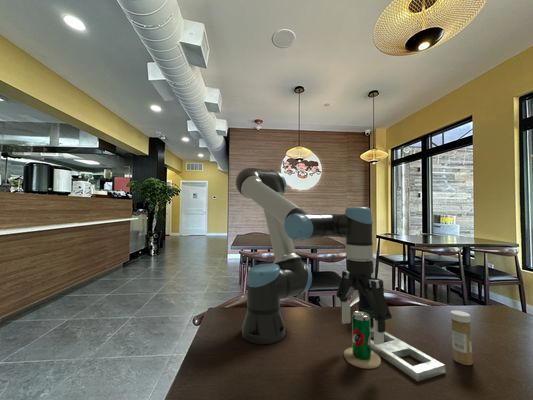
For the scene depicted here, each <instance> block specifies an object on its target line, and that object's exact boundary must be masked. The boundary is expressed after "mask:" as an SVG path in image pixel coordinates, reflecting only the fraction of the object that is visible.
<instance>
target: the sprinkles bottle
mask: <svg viewBox="0 0 533 400" xmlns="http://www.w3.org/2000/svg"><path fill="white" fill-rule="evenodd" d="M450 318H451V319H450V320H451V335H452V336H451V343H452V351H453V352H452V358H453V360H454V361H455V362H456V363H458V364H461V365H466V366H472V365H473V364H474V361H473V349H472V348H473V346H472V345H473V343H472V335H471V333H472V332H471V322H472V321H471V315H470V314H469V313H468V312H466V311H463V310H456V309H455V310H451V311H450Z"/></svg>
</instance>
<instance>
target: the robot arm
mask: <svg viewBox="0 0 533 400" xmlns="http://www.w3.org/2000/svg"><path fill="white" fill-rule="evenodd" d="M286 181H287V180H286V178H285V177H284V174H282V173H281V172H279V171H276V170H275V169H274V170H273V169H264V168H256V167H247V168H244V169H242V170H241V171H240V172H239V173H238V174H237V176H236V179H235V187H236V190H237V192H238V193H239V194H240V195H241V196H243V197H244V198H246V199H248V200H249V199H250V200H252V201H253V202H254V203H256V204H257V205H259V207H260V208H261V209H263V213H264V216H265V222H266V226H267V230H268V233H269V238H270V242H271V247H272V250H273V254H274V260H273V262H272V263H271V262H270V263H268V262H267V263H260V264H256V265H253V266H252V267H250V269H249V270H248V271H247V275H246V292H247V293H246V297H247V298H246V314H245V316H244V320H243V323H242V326H241V337H242V338H243V339H244V340H245V341H247V342H249V343H252V344H256V345H270V344H275V343H277V342H279V341H281V340H283V339H284V338H285V335H286V326H285V323H284V320H283V317H282V314H281V306H280V305H281V300H284V299H288V298H291V297H295V296H300V295H302V294H304V293H306V292H307V291H309V289H310V288H311V285H312V281H313V276H312V275H313V274H312V272H311V269H310V267H309V266H308V265H307V264H306V263H304V262H303V261H302V258H301V256H300V255H298V254H297V252H296V250H295V245H294V242H293V240H299V241H304V240H308V239H309V240H310V239H311V240H312V239H321V238H323V239H324V238H342V239H343V238H344V239H345V258H347V259H346V260H345V261H346V270H342V271H341V279H340V282H339V285H338V288H337V291H336V298H339V301H340V307H341V308H340V310H341V324H343V325H345V324H350V323H351V324H352V316H351V301H350V298H351V296H352V295H353V294H354V292H355V291H357V292H358V291H359V292H362V294H363V295H364V296H365V297H366V299H367V301H368V303H369V305H370V307H371V309H372V311H373V313H374V315H375V317H376V318H374V319H373V321H374V322H373V327H374V338H373V341H374V344H375V345H378V344H383V343H385V340H384V332H386V321H388V320H392V319H393V317H392V314H391V310H390V308H389V306H388V303H387V300H386V296H385V293H384V294H383V291H382V287H381V281H380V280H381V279H380V280H372V278H373V277H372V275H373V274H374V261H373V260H372V259H373V258H374V251H373V250H374V245H373V222H374V221H373V214H372V209H371V208H369V207H366V206H365V207H364V206H362V207H359V206H358V207H357V206H355V207H354V206H353V207H347V208H345V212H344V213H342V214H341V213H309V212H307V211H305V210H303V209H302V208H301V207H299V205H296V204H295V203H293V202H292V201H291V200H289V199H287V198H286V197H285V193H286V187H287V182H286ZM368 290H369V291H368ZM379 313H380V315H379Z"/></svg>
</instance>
